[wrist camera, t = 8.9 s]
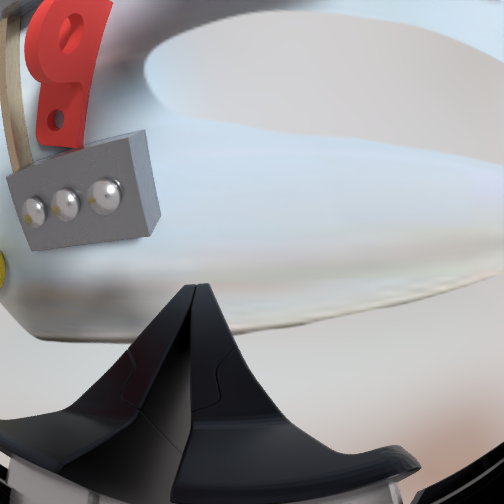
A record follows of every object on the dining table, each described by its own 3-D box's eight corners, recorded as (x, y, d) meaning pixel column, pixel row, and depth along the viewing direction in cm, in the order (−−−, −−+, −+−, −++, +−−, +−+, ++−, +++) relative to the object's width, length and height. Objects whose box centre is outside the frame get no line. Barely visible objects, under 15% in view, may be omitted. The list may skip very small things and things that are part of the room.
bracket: (67, 8, 11) (8, -8, 4) (113, 3, 12) (60, -26, 5) (42, 141, 17) (-20, 171, 10) (83, 145, 18) (23, 176, 11)
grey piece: (138, -86, 6) (124, -106, 3) (161, 215, 22) (147, 240, 18) (20, -29, 6) (-3, -35, 3) (46, 232, 21) (25, 255, 18)
